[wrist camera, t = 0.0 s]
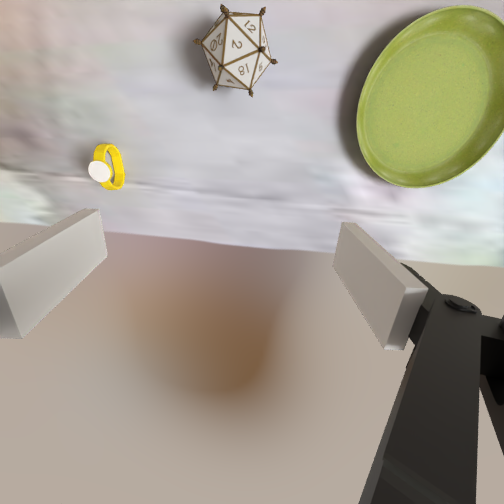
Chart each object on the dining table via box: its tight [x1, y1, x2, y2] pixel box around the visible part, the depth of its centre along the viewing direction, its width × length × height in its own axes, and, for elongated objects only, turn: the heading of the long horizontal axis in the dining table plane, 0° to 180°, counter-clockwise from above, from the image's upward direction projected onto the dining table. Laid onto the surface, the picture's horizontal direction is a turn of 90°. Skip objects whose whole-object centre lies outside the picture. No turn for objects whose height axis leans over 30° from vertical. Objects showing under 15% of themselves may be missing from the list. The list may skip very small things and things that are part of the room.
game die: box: [193, 4, 278, 97], centre depth 31 cm, size 9×8×10 cm
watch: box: [88, 144, 125, 190], centre depth 37 cm, size 6×3×6 cm, turn 1°
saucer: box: [356, 5, 504, 188], centre depth 36 cm, size 21×21×3 cm
